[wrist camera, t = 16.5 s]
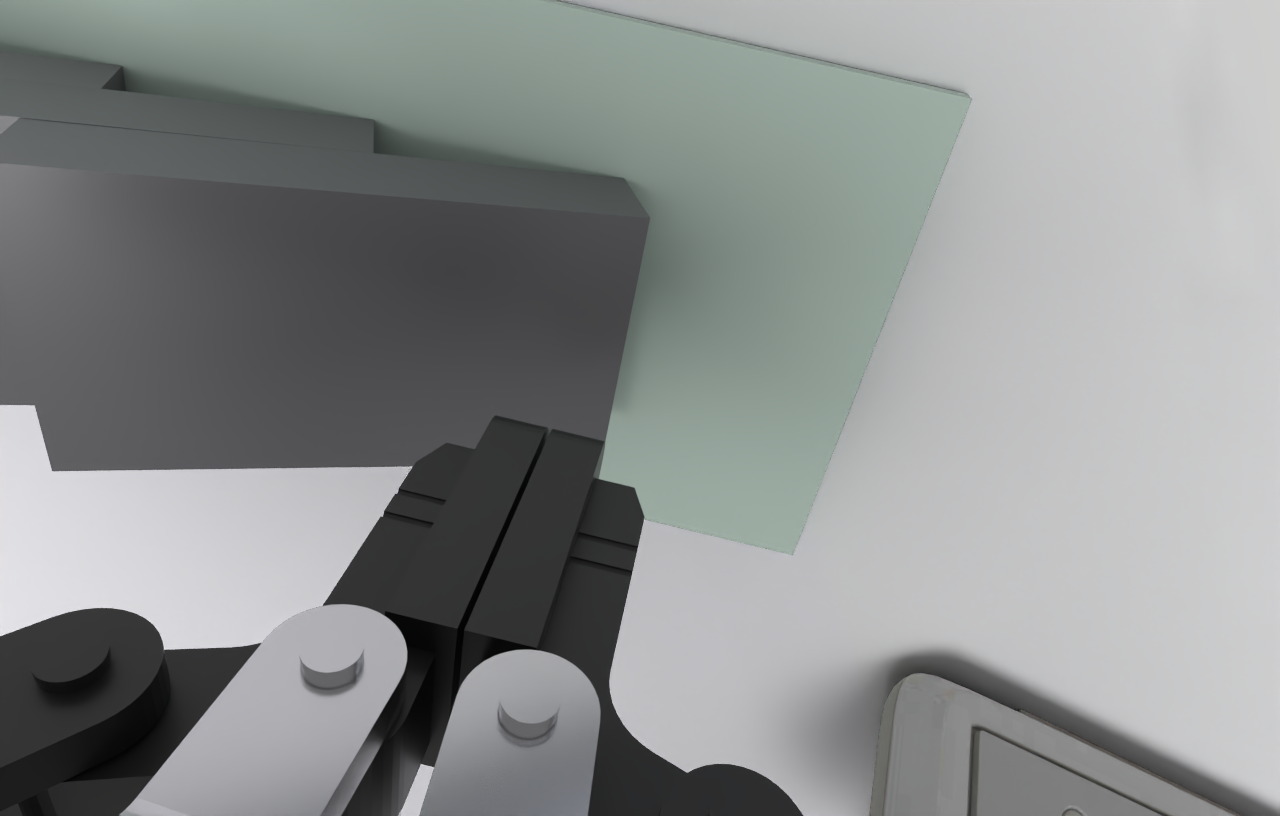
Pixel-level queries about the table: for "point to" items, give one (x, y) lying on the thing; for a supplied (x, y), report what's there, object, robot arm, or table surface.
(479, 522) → the robot arm
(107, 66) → the domino
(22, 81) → the domino
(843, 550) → the table surface
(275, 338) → the domino
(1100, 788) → the digital clock
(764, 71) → the mat
